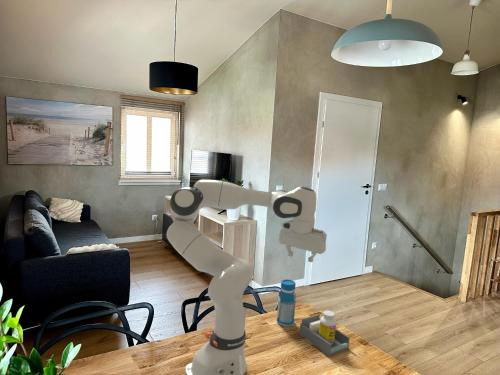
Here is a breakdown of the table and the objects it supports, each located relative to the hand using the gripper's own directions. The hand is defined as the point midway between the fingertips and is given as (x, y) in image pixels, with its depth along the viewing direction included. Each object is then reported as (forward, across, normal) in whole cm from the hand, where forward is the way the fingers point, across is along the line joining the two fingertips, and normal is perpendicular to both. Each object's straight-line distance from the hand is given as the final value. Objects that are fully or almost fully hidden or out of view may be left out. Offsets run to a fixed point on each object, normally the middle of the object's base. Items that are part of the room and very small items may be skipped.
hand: (300, 258), depth 140 cm
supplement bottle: (+36, -12, -8) cm, 38 cm away
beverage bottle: (+37, +10, -12) cm, 40 cm away
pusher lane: (+36, -10, -9) cm, 39 cm away
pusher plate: (+35, -7, -10) cm, 37 cm away
